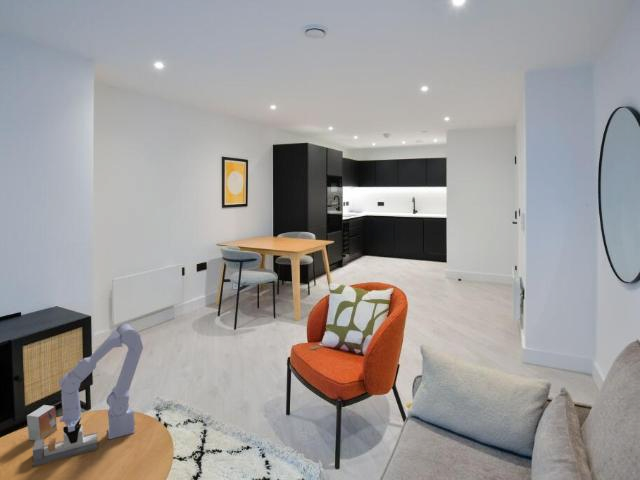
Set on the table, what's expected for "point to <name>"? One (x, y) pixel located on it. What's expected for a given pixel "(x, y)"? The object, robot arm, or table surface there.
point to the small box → (41, 422)
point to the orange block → (52, 444)
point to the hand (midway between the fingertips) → (74, 438)
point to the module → (79, 440)
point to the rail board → (62, 450)
